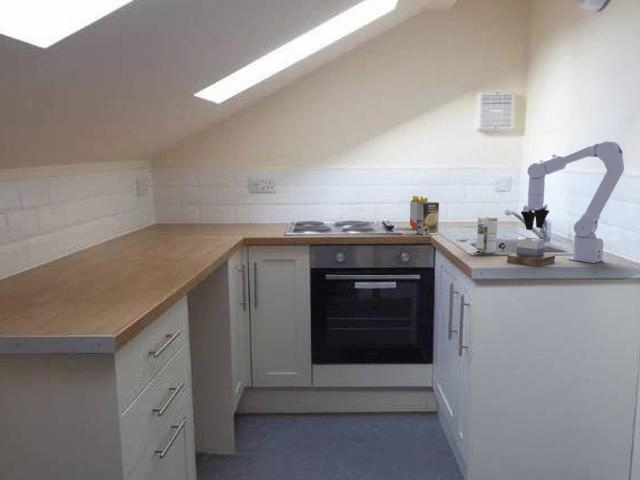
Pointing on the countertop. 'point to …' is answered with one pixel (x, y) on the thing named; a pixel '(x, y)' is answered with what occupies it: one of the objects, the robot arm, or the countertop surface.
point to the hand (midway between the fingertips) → (534, 228)
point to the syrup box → (486, 234)
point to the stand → (531, 259)
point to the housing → (530, 247)
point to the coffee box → (427, 217)
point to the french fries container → (415, 210)
